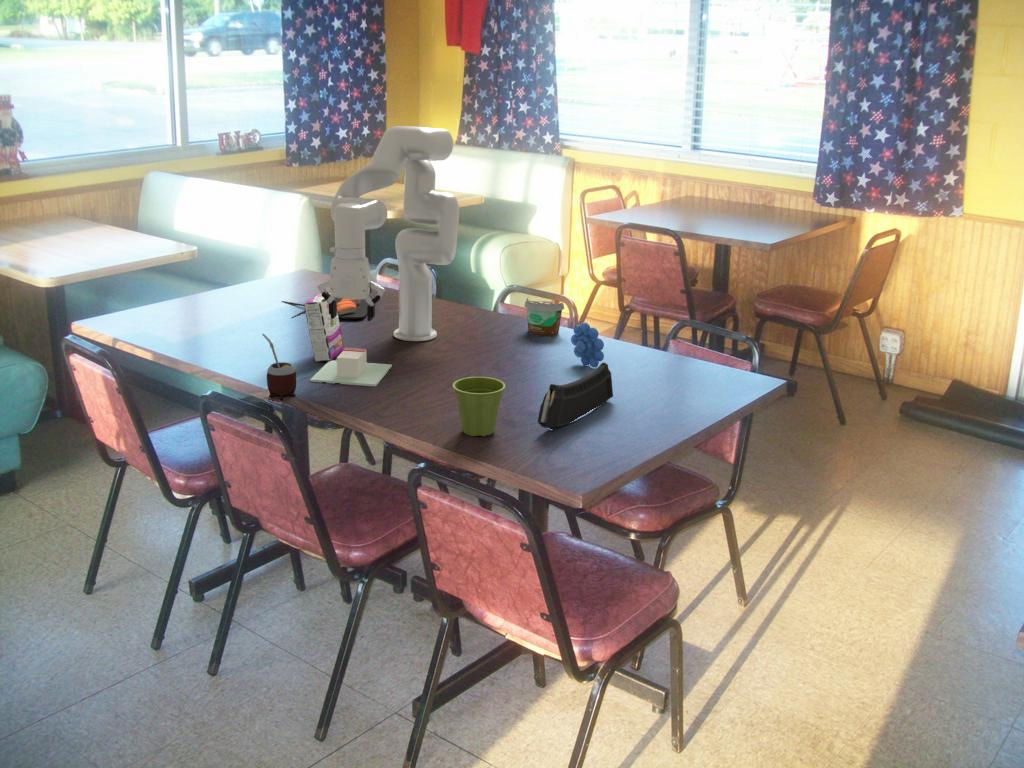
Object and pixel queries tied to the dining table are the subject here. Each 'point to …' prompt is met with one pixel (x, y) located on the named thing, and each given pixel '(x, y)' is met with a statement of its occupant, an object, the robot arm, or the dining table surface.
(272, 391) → the mate gourd
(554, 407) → the magazine
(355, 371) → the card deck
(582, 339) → the grapes
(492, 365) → the dining table surface
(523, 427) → the dining table surface
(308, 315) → the candy bar box
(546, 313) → the food container
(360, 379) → the mat
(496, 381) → the plant pot
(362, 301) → the sushi plate
